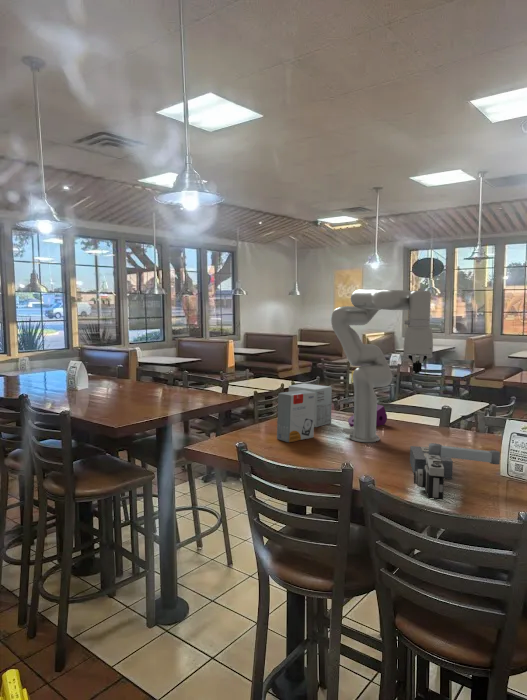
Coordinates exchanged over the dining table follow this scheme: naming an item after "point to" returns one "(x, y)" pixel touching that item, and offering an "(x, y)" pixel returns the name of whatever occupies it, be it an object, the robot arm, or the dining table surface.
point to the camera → (431, 477)
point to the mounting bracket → (380, 418)
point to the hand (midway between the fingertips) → (416, 373)
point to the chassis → (420, 460)
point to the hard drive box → (295, 415)
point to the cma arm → (465, 453)
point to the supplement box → (318, 401)
